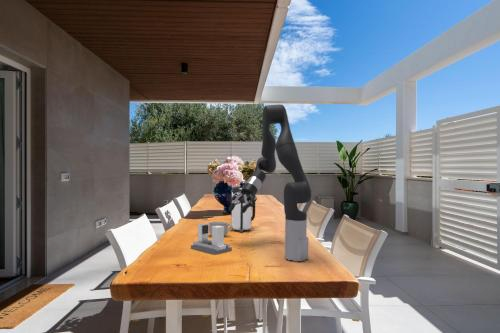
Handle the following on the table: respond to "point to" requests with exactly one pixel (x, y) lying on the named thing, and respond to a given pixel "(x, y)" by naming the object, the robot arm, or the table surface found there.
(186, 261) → the table surface
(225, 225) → the teacup
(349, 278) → the table surface
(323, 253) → the table surface
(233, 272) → the table surface
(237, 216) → the coffee press
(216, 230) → the white stepped block
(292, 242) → the robot arm
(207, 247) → the rail
